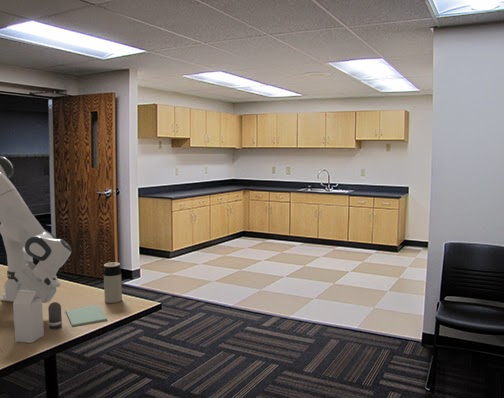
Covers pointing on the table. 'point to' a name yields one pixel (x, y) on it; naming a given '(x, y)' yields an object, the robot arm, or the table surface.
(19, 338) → the milk carton
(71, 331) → the table surface
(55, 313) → the cylinder
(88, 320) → the sage green mat
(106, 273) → the travel mug
